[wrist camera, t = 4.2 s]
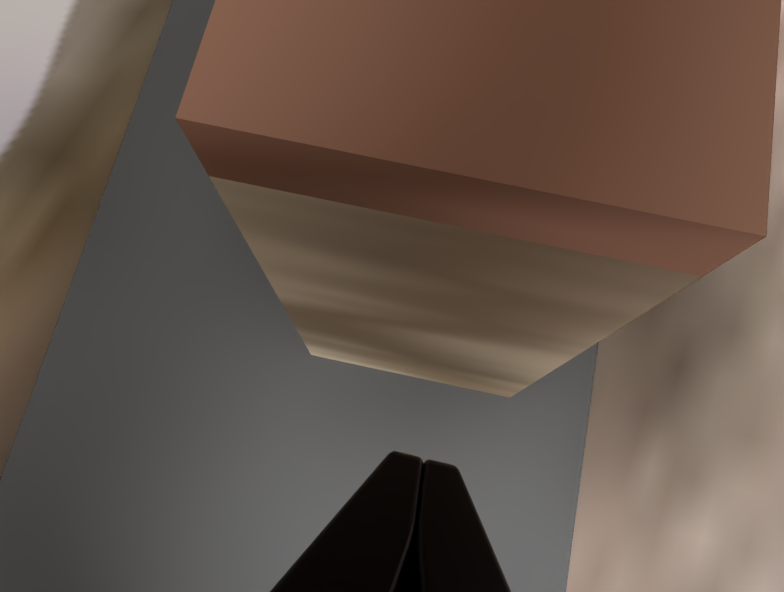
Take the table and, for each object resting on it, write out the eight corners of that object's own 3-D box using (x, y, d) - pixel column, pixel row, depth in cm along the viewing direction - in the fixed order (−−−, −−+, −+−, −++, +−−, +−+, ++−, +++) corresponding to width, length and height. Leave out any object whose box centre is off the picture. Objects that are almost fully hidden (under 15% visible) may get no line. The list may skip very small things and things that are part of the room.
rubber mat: (-36, 616, 14) (-51, 622, 13) (229, -129, 19) (225, -145, 18) (537, 752, 13) (543, 762, 13) (644, -53, 18) (651, -67, 18)
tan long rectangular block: (311, 354, 15) (175, 117, 5) (356, 174, 16) (315, -296, 6) (510, 397, 14) (765, 237, 5) (540, 212, 16) (795, -216, 6)
